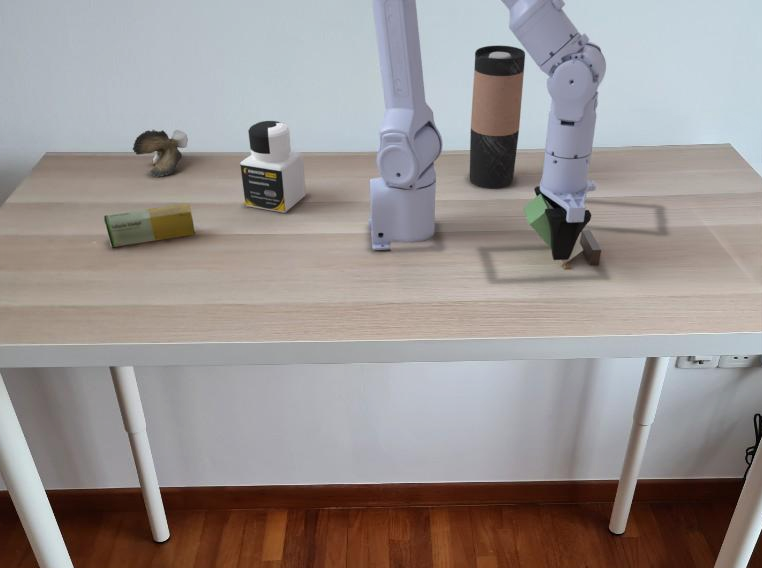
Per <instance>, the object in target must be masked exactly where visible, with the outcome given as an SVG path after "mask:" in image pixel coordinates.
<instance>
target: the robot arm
mask: <svg viewBox="0 0 762 568" xmlns="http://www.w3.org/2000/svg"><path fill="white" fill-rule="evenodd" d="M500 1H501V2H502V3H503V4H504V5H505V7H506V8H507V9H508V12H509V19H508V20H509V21H508V28H509V30H510V31H511V33H512V34H513V35H514V36H515V38H516V39H517V40H518V42H519V43H520V44H521V45H522V47H523V48H524V50H525V51H526V52H527V53H528V55H529V56H530V57H531V59H532V60H533V61H534V63H535V64H536V66H538V67H539V69H540V71H541V72H543V73H545V75H547V76H548V77H547V78H546V88H547V93H548V94H549V96H550V98H551V100H550V101H551V102H550V110H549V112H548V118H547V129H546V138H545V148H544V158H543V166H542V177H541V179H540V182H539V186H535V187H534V188H533V189H534V190H533V191H534V193H535V195H536V196H535V197H537V196H538V195H539V194H541V195H542V196H543V197H544V198H545V199H546V200H547V202H548V203H549V204H550V205H551V206H552V207H553V209H545V213H546V216H547V218H548V221H549V225H550V230H551V248H550V249H551V256H552V259H553V261H562V260H568V259H569V258H570V256H571V253H572V251H573V248H574V246H575V243H576V241H577V239H578V240H579V236H581V232H582V230H584V229H585V227H586V226H587V225H588V224H589V222H591V219H592V213H591V212H590V209H586V205H585V203H586V199H587V196H588V192H589V193H590V192H594V191H596V190H597V189H596V188H597V185H596V183H595V181H594V180H591V179H589V172H590V164H591V158H592V151H593V144H594V136H595V130H596V125H597V124H596V123H597V108H598V106H599V105H598V103H599V99H598V97H599V91H598V88H599V87H600V86H601V83H603V81H604V78H605V75H606V71H607V62H606V59H605V56H604V54H603V52H602V49H601V47H600V46H599V45H598V44H596V43H595V42H592V41H590V38H589V37H588V35H587V34H586V33H583V34H581V33H580V32H579V30H578V28H577V27H576V26H575V25H574V23H573V22H572V21H571V19H570V18H569V16H568V15H567V14H566V13H565V11H564V10H563V7H565V5H566V3H565V1H564V0H500ZM371 4H372V13H373V19H374V20H373V21H374V27H375V37H376V44H377V51H378V60H379V68H380V75H381V77H380V78H381V83H382V89H383V90H382V93H383V99H384V109H385V111H384V115H383V118H382V121H381V125H380V129H379V133H378V134H379V135H378V136H379V148H378V151H377V154H376V159H375V160H376V161H375V163H376V167H377V171H378V173H379V175H380V177H375V178H370V179H369V207H370V208H369V210H370V211H369V213H370V217H368V219H367V220H368V231H370V236H371V247H372V248H371V249H372V250H374V251H389V250H392V248H391V242H399V243H400V242H401V243H419V242H423V241H426V240H428V239H430V238H432V237H433V236H434V235H435V230H436V229H435V227H436V226H435V225H436V191H437V190H436V189H437V187H436V186H437V173H436V170H435V162H436V161H437V159H439V157H440V156H441V154H442V152H443V151H442V150H443V144H444V143H443V138H442V135H441V132H440V131H439V129H438V127H437V125H436V123H435V118H434V111H433V110H432V109H431V107H430V106H429V105H428V104H427V102H426V92H425V85H424V84H425V83H424V74H423V72H424V71H423V62H422V52H421V51H422V50H421V42H420V40H421V39H420V32H419V31H420V30H419V21H418V10H417V0H371Z"/></svg>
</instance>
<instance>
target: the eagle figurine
mask: <svg viewBox="0 0 762 568" xmlns="http://www.w3.org/2000/svg"><path fill="white" fill-rule="evenodd" d="M188 142H189V138H188V134H187V133H186V132H184V131H183V130H180V129H175V130H174V131H173V132H172V135H171V137H169V135H168V134H167V133H166V131H164V130H160V131H158V130H155V129H152V130H145V131H143V132H142V133H141V134H139V135H138V136H137V137H136V139H135V140H134V143H133V147H132V151H133V152H134V153H135V155H137V156H138V155H139V156H140V155H145V154H146V155H147V154H153V153H155V152H156V153H155V154H154V157H153V159H152V165H154V166H153V167H152V168H151V170H149V174H150V175H151V176H153V177H156V178H159V177H164V176H165V175H166V176H168V175H171V174H173V173H174V172H175V171H176V169H178V165H179V163H180V161H181V160H182V158H183V155H182V152H181V151H180V149H185V148H187V146H188Z"/></svg>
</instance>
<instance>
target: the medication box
mask: <svg viewBox="0 0 762 568" xmlns="http://www.w3.org/2000/svg"><path fill="white" fill-rule="evenodd" d="M103 221H104V225H105V230H106V234H107V238H108V241H109V245H110V247H111V249H113V248H115V247H121V246H127V245H128V246H129V245H136V244H140V243H147V242H154V241H161V240H167V239H174V238H179V237H186V236H192V235H196V234H197V232H196V230H195V224H194V219H193V213H192V208H191V206H190V204H189V203H182V204H181V203H180V204H176V205H175V204H174V205H169V206H161V207H153V208H147V209H140V210H135V211H128V212H122V213H114V214H107V215H104V216H103Z"/></svg>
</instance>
